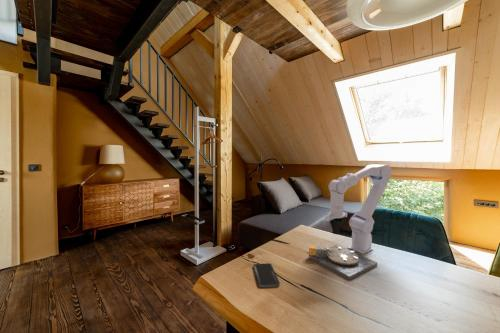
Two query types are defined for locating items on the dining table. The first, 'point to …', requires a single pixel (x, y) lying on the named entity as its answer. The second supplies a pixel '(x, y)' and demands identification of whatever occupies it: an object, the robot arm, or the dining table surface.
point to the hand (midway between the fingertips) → (335, 233)
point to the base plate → (344, 270)
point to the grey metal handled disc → (336, 255)
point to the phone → (265, 276)
